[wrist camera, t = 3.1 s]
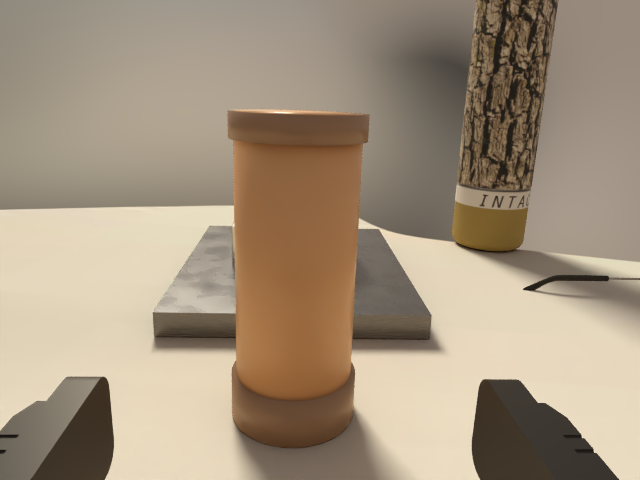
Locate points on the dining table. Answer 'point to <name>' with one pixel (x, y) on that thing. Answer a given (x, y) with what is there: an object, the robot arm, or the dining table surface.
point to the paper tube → (502, 121)
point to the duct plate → (219, 292)
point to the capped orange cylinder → (295, 271)
